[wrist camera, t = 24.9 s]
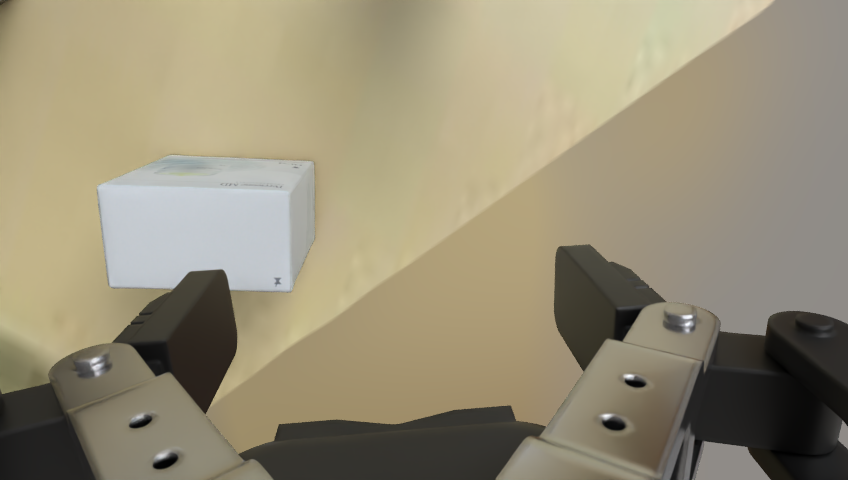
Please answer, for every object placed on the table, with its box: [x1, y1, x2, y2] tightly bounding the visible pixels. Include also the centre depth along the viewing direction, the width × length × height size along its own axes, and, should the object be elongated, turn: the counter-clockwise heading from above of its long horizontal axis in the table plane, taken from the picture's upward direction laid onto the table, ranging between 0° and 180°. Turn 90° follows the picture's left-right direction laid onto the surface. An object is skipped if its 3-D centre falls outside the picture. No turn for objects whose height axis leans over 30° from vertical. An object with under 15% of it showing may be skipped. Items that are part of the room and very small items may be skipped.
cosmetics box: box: [97, 155, 315, 292], centre depth 36 cm, size 10×6×10 cm, turn 87°
